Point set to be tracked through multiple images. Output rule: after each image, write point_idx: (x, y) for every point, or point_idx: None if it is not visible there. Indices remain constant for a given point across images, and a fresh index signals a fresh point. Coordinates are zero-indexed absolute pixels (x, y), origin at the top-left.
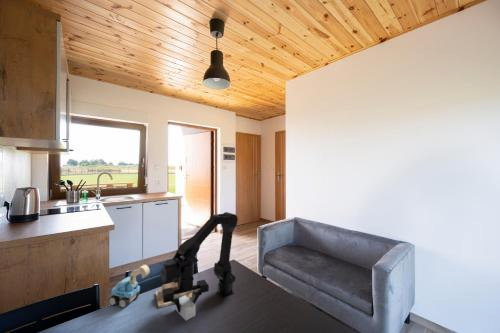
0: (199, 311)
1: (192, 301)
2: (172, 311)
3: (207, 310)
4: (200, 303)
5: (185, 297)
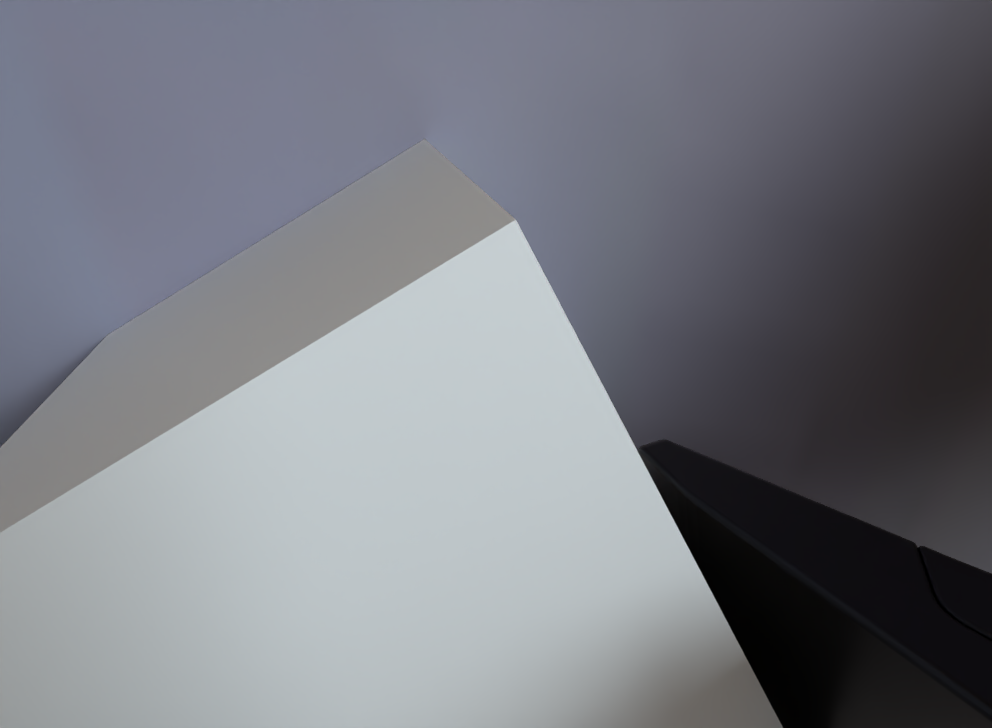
0: (779, 476)
1: (795, 691)
2: (21, 410)
3: (935, 461)
4: (902, 161)
5: (525, 496)
